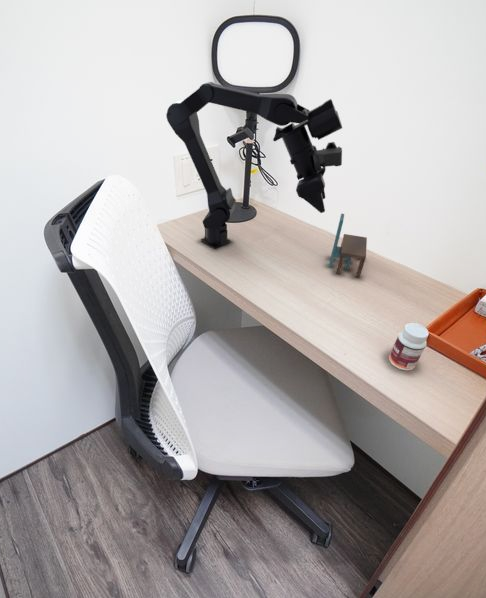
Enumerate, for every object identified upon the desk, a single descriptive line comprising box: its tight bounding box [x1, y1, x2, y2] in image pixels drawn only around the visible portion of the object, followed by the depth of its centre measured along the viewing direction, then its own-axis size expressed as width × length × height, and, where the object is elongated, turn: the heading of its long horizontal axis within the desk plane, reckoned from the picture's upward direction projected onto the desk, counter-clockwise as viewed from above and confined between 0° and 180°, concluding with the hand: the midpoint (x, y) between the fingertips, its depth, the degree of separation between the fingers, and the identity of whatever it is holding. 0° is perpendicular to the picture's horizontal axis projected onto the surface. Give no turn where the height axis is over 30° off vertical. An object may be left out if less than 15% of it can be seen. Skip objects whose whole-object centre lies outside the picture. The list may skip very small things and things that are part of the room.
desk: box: [335, 233, 368, 279], centre depth 96 cm, size 6×11×6 cm, turn 160°
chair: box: [328, 213, 352, 271], centre depth 95 cm, size 5×5×14 cm
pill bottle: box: [388, 322, 430, 371], centre depth 67 cm, size 5×5×8 cm
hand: (323, 205), depth 94 cm, fingers open, 9 cm apart
